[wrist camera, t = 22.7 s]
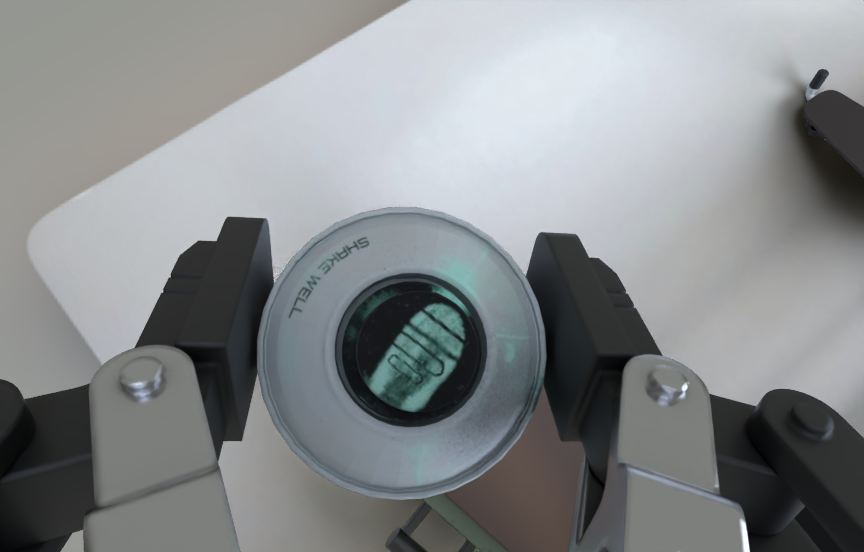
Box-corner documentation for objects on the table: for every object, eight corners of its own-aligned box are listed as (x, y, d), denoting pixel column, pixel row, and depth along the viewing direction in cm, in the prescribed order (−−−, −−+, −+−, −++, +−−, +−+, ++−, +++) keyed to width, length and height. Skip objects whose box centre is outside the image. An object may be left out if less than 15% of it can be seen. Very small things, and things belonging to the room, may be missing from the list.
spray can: (436, 298, 28) (617, 182, 8) (426, 407, 27) (602, 568, 7) (327, 287, 27) (243, 132, 8) (314, 399, 27) (184, 550, 7)
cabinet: (511, 537, 43) (555, 593, 34) (391, 431, 43) (402, 456, 33) (622, 393, 46) (692, 407, 36) (510, 292, 45) (550, 279, 36)
